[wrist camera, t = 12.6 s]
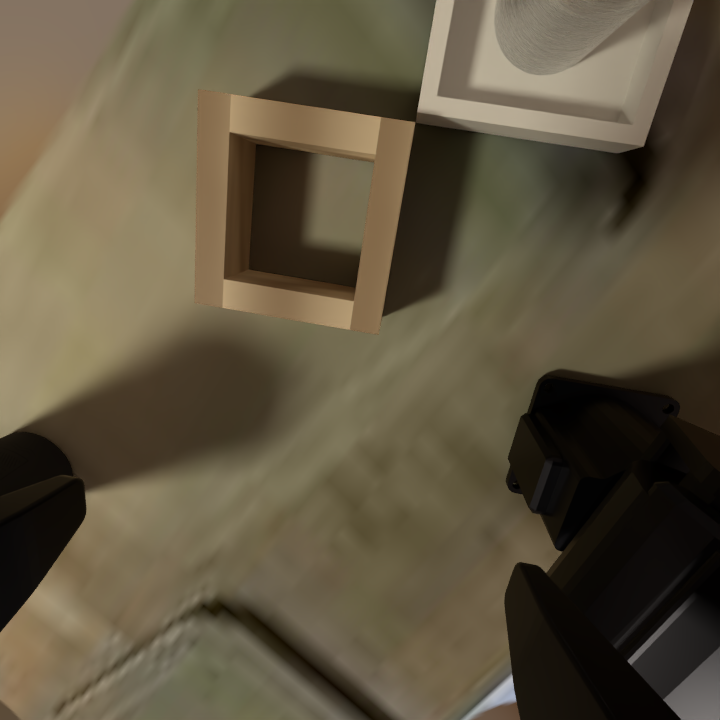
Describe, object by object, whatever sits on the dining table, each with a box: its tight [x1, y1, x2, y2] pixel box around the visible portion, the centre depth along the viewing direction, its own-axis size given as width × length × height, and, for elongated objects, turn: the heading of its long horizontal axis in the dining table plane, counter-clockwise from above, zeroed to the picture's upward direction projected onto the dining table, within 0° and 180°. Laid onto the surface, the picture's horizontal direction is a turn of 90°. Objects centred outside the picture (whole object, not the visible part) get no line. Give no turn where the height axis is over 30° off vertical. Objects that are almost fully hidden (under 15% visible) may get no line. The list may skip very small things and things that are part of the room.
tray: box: [416, 0, 694, 153], centre depth 15 cm, size 8×8×2 cm
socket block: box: [195, 89, 415, 335], centre depth 18 cm, size 8×8×3 cm
